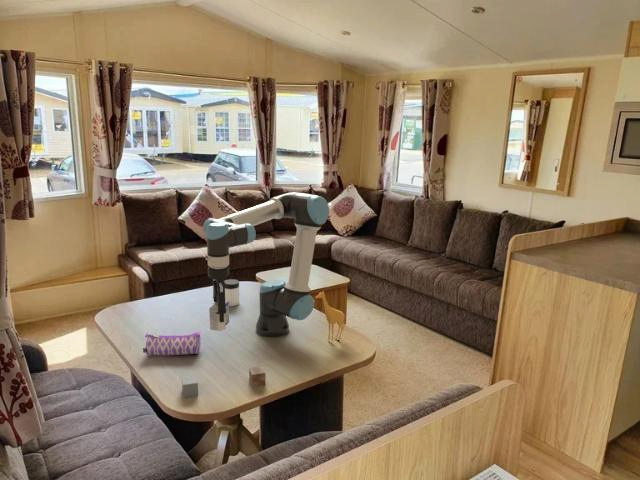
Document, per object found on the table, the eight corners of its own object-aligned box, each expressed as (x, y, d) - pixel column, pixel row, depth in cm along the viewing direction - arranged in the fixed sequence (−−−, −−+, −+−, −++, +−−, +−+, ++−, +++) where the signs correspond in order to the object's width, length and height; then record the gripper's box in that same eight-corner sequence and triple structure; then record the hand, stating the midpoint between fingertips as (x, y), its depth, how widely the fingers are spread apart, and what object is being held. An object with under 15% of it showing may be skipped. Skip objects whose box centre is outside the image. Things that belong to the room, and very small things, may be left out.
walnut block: (262, 378, 179) (262, 366, 177) (265, 385, 174) (265, 372, 173) (249, 380, 177) (249, 368, 176) (251, 387, 172) (251, 374, 171)
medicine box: (221, 331, 172) (220, 309, 170) (209, 329, 173) (209, 307, 170) (229, 322, 179) (229, 301, 177) (218, 321, 180) (217, 299, 178)
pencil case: (143, 360, 189) (141, 338, 187) (148, 349, 198) (147, 328, 195) (200, 358, 192) (199, 336, 190) (202, 347, 201) (201, 326, 198)
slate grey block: (196, 387, 171) (196, 375, 170) (198, 395, 166) (197, 382, 165) (182, 390, 169) (181, 377, 168) (183, 397, 165) (182, 384, 163)
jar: (239, 306, 245) (239, 284, 242) (223, 307, 243) (223, 285, 240) (238, 299, 254) (238, 278, 251) (223, 300, 252) (222, 279, 249)
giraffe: (317, 349, 202) (318, 294, 196) (311, 345, 206) (312, 290, 199) (347, 340, 211) (349, 287, 205) (341, 336, 215) (343, 284, 209)
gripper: (204, 258, 179) (206, 313, 184) (211, 276, 159) (213, 337, 165) (224, 256, 181) (225, 311, 187) (233, 274, 161) (234, 335, 167)
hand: (219, 324), depth 176 cm, fingers closed on medicine box, 9 cm apart
